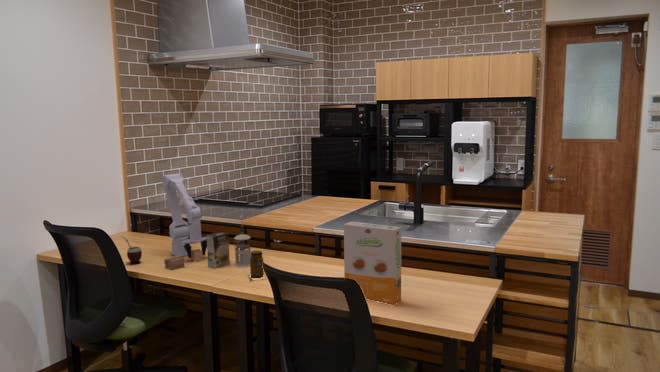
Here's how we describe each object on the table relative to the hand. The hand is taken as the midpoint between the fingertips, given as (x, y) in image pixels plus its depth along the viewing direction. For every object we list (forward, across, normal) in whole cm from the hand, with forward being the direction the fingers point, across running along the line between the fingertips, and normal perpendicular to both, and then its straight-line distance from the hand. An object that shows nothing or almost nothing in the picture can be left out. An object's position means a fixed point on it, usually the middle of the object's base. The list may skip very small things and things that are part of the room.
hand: (196, 256), depth 268 cm
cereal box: (+2, +29, -102) cm, 106 cm away
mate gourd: (+2, -27, +16) cm, 31 cm away
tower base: (+2, -14, -5) cm, 15 cm away
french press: (+2, +14, -23) cm, 27 cm away
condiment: (+2, +8, -47) cm, 48 cm away
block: (+2, 0, 0) cm, 2 cm away
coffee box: (+2, +4, -17) cm, 17 cm away
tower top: (0, -14, -5) cm, 15 cm away
